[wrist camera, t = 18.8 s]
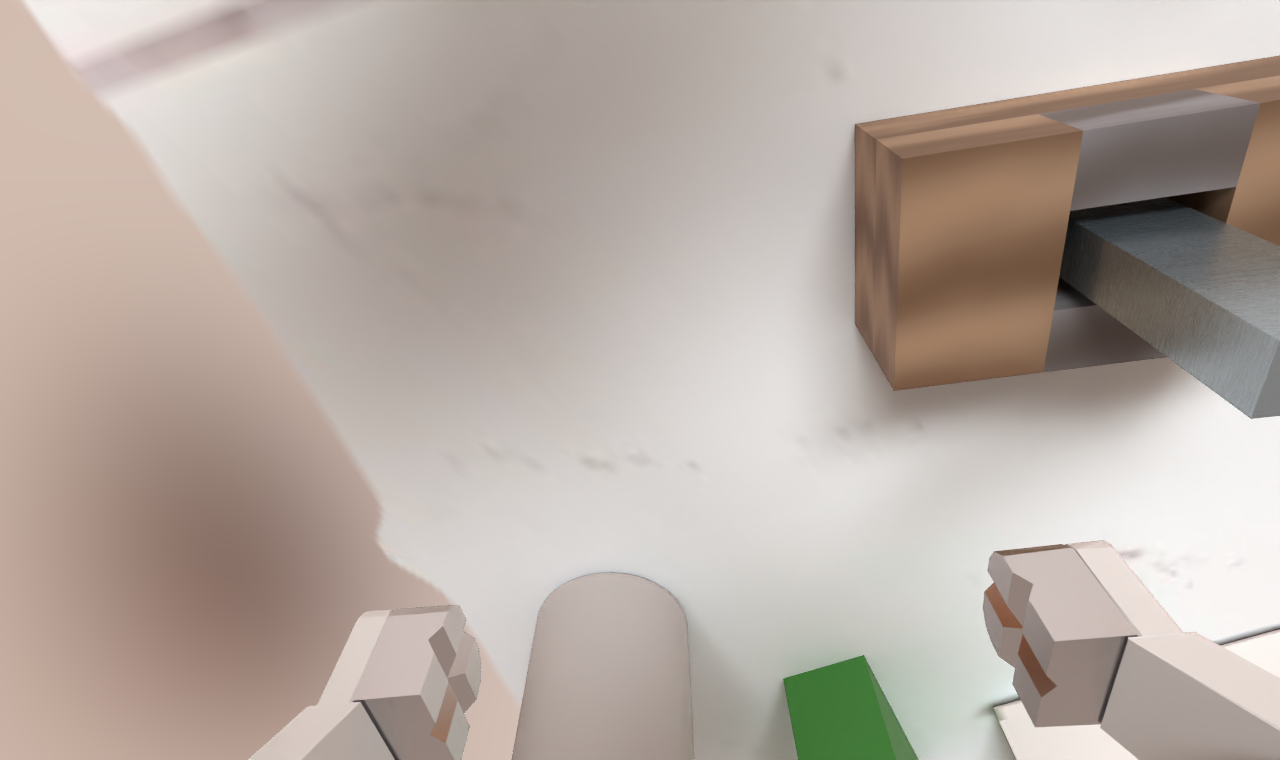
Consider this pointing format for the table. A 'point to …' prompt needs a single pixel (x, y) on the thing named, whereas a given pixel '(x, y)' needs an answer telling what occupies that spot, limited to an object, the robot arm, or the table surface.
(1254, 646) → the tablet stand
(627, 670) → the cylinder vase
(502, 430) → the table surface
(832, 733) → the hardback book
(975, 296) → the brown boxy piece
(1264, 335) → the tall rectangular metal block
